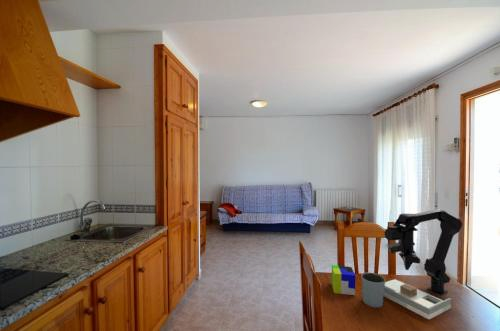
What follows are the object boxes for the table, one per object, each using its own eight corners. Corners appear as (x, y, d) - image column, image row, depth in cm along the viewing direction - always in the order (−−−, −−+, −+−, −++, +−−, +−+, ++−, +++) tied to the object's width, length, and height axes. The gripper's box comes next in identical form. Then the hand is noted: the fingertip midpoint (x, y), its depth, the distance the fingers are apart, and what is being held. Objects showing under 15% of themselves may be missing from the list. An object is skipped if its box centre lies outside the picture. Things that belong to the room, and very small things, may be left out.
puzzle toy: (355, 295, 121) (355, 275, 121) (334, 293, 123) (334, 273, 123) (351, 285, 131) (351, 266, 131) (331, 283, 133) (331, 265, 133)
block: (406, 289, 123) (406, 283, 123) (416, 294, 118) (416, 288, 118) (400, 292, 121) (400, 285, 121) (410, 297, 116) (410, 290, 116)
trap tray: (394, 282, 134) (394, 274, 134) (450, 308, 111) (451, 298, 111) (373, 290, 126) (373, 281, 126) (428, 319, 103) (429, 309, 103)
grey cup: (383, 299, 118) (384, 274, 117) (385, 311, 108) (386, 284, 108) (360, 294, 122) (361, 270, 122) (360, 305, 113) (361, 279, 112)
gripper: (384, 232, 135) (384, 260, 135) (393, 243, 117) (393, 276, 118) (407, 234, 132) (407, 263, 132) (420, 246, 114) (420, 279, 114)
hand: (406, 269), depth 124 cm, fingers closed
